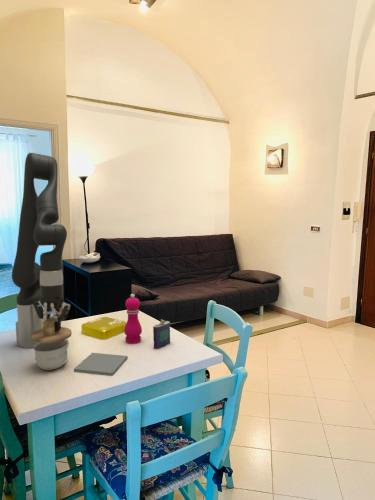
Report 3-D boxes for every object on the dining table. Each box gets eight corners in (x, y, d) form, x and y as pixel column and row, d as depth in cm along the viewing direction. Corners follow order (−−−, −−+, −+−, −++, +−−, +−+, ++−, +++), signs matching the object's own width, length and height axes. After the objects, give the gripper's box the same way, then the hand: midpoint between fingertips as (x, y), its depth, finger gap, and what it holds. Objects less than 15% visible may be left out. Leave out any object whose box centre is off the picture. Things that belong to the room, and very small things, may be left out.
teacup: (48, 376, 123) (47, 353, 122) (28, 368, 129) (27, 346, 128) (81, 361, 135) (80, 339, 134) (61, 354, 141) (60, 334, 140)
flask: (166, 341, 155) (166, 316, 153) (172, 342, 153) (172, 317, 151) (151, 348, 147) (151, 322, 146) (157, 350, 146) (157, 323, 144)
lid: (23, 340, 125) (23, 323, 124) (46, 327, 138) (46, 312, 137) (58, 344, 122) (57, 326, 122) (78, 331, 135) (78, 315, 134)
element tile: (104, 324, 176) (104, 315, 175) (128, 331, 168) (128, 320, 167) (79, 334, 163) (79, 323, 163) (104, 341, 155) (103, 330, 155)
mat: (73, 371, 127) (73, 368, 126) (92, 355, 140) (92, 352, 140) (112, 375, 124) (112, 372, 124) (127, 358, 137) (127, 355, 137)
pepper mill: (121, 342, 153) (120, 295, 150) (130, 336, 159) (129, 291, 157) (136, 345, 150) (135, 296, 147) (145, 339, 157) (144, 292, 154)
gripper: (26, 283, 126) (28, 332, 128) (63, 286, 123) (64, 336, 125) (40, 279, 133) (41, 325, 135) (75, 281, 130) (76, 329, 132)
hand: (52, 330), depth 130 cm, fingers closed on lid, 3 cm apart
